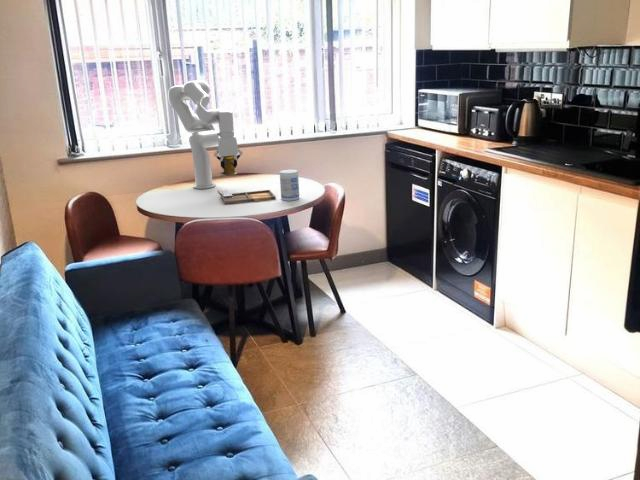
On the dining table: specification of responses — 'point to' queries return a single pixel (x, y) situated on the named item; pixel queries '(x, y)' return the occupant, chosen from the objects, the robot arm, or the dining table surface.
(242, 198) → the divided wooden tray
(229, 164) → the condiment
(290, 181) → the supplement tub
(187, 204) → the dining table surface
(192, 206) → the dining table surface
